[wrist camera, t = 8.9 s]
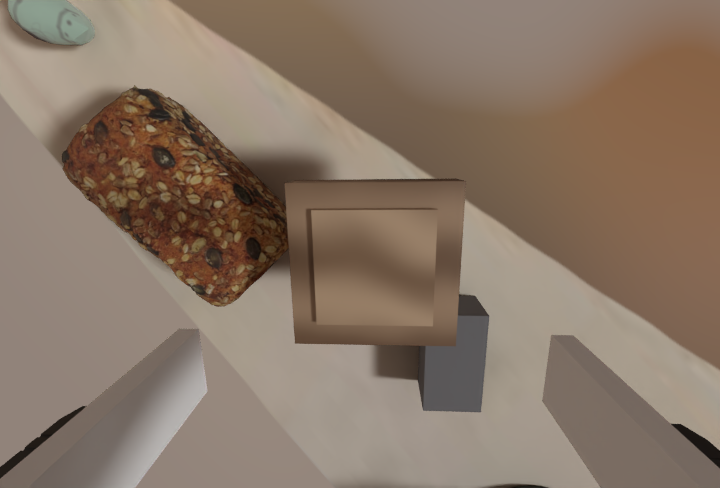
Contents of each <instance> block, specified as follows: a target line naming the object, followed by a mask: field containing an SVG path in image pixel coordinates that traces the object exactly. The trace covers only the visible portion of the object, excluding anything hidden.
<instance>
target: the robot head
mask: <svg viewBox="0 0 720 488" xmlns="http://www.w3.org/2000/svg"><path fill="white" fill-rule="evenodd" d="M8 11H9V13H10V15H11V18H12V19H13V20H14V21H15V22H16V23H17V24H18V25H19V26H20V27H21V28H22V29H23V30H24V31H26V32H27V33H29V34H30V35H32V36H33V37H35V38H36V39H39V40H42V41H45V42H48V43H52V44H59V45H83V44H85V43H88V42H90V41H91V40H92V39H93V37H94V33H95V29H94V27H93V25H92V23H91V21H90V20H89V18H88V17H87V16H86V15H85V14H84V13H83V12H82V11H80V10H79V9H78V8H76V7H75V6H73V5H72V4H71V3H69V2H68V1H67V0H8Z"/></svg>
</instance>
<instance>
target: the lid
mask: <svg viewBox="0 0 720 488" xmlns="http://www.w3.org/2000/svg"><path fill="white" fill-rule="evenodd" d="M284 184H285V199H286V214H287V229H288V244H289V259H290V273H291V288H292V303H293V318H294V333H295V343H299V344H353V345H408V346H456V335H457V319H458V302H459V286H460V270H461V254H462V237H463V221H464V205H465V188H466V181H463V180H459V179H374V180H295V181H291V182H286V183H284Z"/></svg>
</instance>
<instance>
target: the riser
mask: <svg viewBox="0 0 720 488" xmlns="http://www.w3.org/2000/svg"><path fill="white" fill-rule="evenodd" d="M488 324H489V315H488V314H487V312H486V311H485V309H484V308H483V306H482V305H481V304H480V302H479V301H478V299H477V298H476V296H459V302H458V319H457V335H456V346H419V367H418V383H419V389H420V395H421V401H422V407H423V410H424V411H456V412H481V404H482V393H483V381H484V370H485V358H486V347H487V336H488Z"/></svg>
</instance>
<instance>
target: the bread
mask: <svg viewBox="0 0 720 488" xmlns="http://www.w3.org/2000/svg"><path fill="white" fill-rule="evenodd" d="M62 162H63V163H64V167H63V170H64V172H65V174H66V176H67V177H68V179H69V180H70V182H71V183H72V184H74V185H75V186H76V187H77V188H78V189H79V190H80V191H81V192H82V193H83V194H84V196H85V198H86V199H87V200H89V201H91V202H93V203H94V204H95V205H97V206H98V207H99V208H100V209H101V211H102V212H104V213H105V215H106V216H107V217H108V218H109V219H110V220H111V221H113V222H115V224H116V225H117V226H118V227H119V228H121V229H122V230H123V231H124V232H128V233H129V234H130V235H131V236H132V238H133V239H134V240H137V241H138V243H139V245H140V246H141V247H142V248H143V249H145V250H148V251H149V252H151V253H152V254H154V255H155V256H156V257H158V258H160V259H161V260H162V261H163V262H165V263H166V264H167V265H168V266H169V267H170V268H171V269H172V270H173V271H174V273H175V275H176V276H177V277H178V278H179V279H180V280H181V281H182V282H184V283H185V284H186V285H188V286H190V287H191V288H192V290H193V291H195V292H196V294H197V295H198V296H199V297H201V298H202V299H204V300H205V301H207V302H209V303H210V304H211V305H214V306H217V307H219V306H226V305H228V304H231V303H232V302H234V301H235V300H237V299H238V298H239V297H240V296H241V295H242V294H243V293H244V292H245V291H246V290H247V289H248V288H249V287H250V286H251V285H252V284H253V283H254V282H255V281H257V280H258V279H259V278H260V277H261V276H262V275H263V274H264V273H265V272H266V271H267V270H268V269H269V268H270V267H271V266H272V265H273V264H274V262H275V261H276V260H278V259H279V258H280V257H281V256H282V255H283V253H284V252H285V251H286V250H287V249H288V248H289V244H288V229H287V214H286V206H285V205H284V204H283V203H282V202H281V201H280V200H279V199H278V198H277V197H276V196H274V195H273V194H272V192H271V191H270V190H269V189H268V188H267V187H266V185H265V184H264V183H263V182H261V181H260V180H259V179H258V177H256V176H255V175H254V174H253V173H252V172H251V171H250V170H249V169H248V168H247V167H246V166H245V165H244V164H243V163H242V162H241V161H240V160H239V159H238V158H237V157H236V156H235V155H234V154H233V153H232V152H231V151H230V150H228V149H227V148H226V147H225V146H224V144H223V143H222V142H221V141H220V140H219V139H218V138H217V137H216V136H215V135H214V134H213V133H212V132H211V131H210V130H209V129H208V128H207V127H205V126H204V125H203V124H202V123H201V122H200V121H199V120H198V119H196V118H195V117H194V116H193V115H192V114H191V113H190V112H189V111H188V110H187V109H186V108H184V107H183V106H182V105H180V104H179V103H177V102H176V101H174V100H172V99H171V98H169V97H168V98H166V97H165V96H164V95H163V94H162V93H160V92H159V91H155V90H152V89H138V88H137V87H136V86H135V85H134V87H133V88H131V89H129V90H128V91H126V92H124V93H122V95H121V96H120V97H119V98H118V99H117V100H115V101H114V102H112V103H111V104H109V105H108V106H106V107H105V108H104V109H103V110H102V111H101V112H100V113H98V114H97V115H96V116H95V117H94V118H93V119H91V121H90V122H89V123H88V124H84V125H83V126H81V128H80V129H79V132H78V133H77V134H76V135H75V136H74V138H73V140H72V141H71V143H70V145H69V146H68V148H67V150H66V151H64V152H63V154H62Z"/></svg>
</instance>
